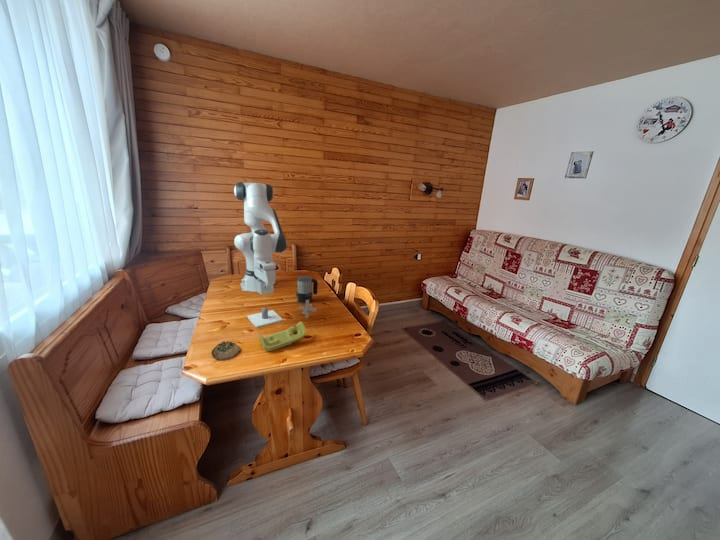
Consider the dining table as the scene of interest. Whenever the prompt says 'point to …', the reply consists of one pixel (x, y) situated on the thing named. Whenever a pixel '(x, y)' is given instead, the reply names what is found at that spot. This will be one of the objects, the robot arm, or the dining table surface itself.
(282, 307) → the dining table surface
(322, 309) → the dining table surface
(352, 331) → the dining table surface
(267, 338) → the plastic component
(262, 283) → the sleeve
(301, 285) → the milk frother
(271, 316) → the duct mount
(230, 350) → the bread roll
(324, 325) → the dining table surface
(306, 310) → the pipe connector
